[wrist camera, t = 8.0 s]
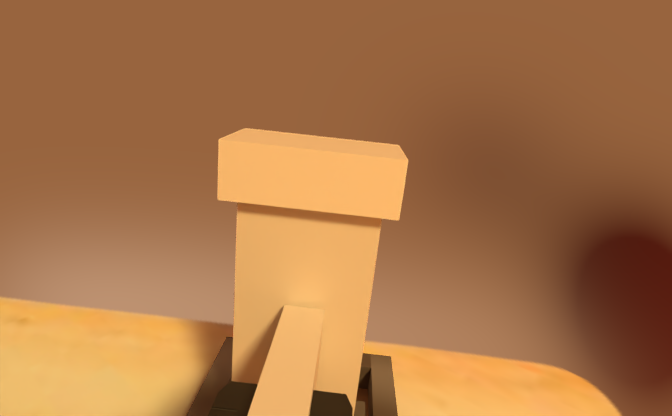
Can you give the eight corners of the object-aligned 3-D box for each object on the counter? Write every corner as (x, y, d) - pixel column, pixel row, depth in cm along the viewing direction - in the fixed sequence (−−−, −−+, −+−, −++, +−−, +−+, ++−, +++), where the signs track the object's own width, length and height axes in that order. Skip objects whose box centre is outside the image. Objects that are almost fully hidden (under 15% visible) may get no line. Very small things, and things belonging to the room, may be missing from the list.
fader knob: (362, 525, 16) (422, 166, 12) (197, 504, 17) (198, 142, 12) (361, 425, 21) (404, 142, 17) (233, 409, 21) (243, 124, 17)
